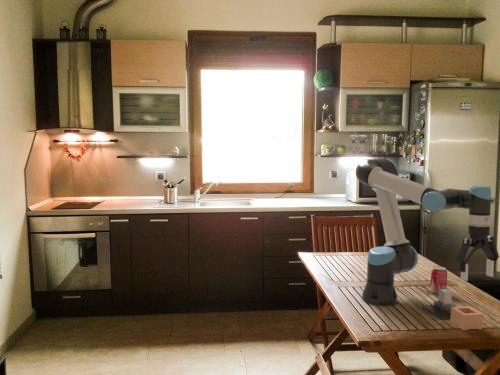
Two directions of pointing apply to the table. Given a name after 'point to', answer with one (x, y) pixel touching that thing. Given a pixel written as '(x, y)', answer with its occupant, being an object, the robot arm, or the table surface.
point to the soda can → (438, 279)
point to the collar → (466, 318)
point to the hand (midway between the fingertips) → (476, 278)
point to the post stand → (441, 305)
